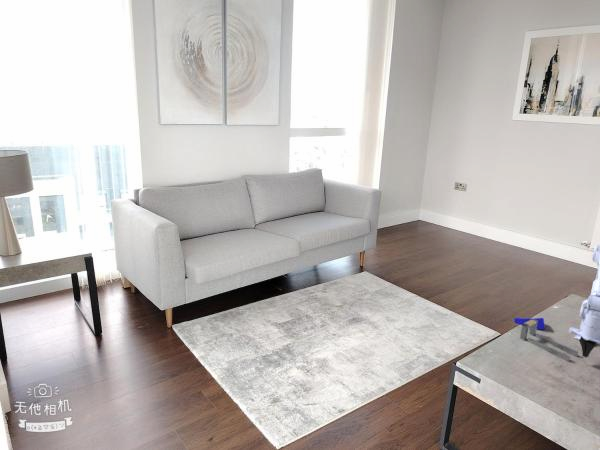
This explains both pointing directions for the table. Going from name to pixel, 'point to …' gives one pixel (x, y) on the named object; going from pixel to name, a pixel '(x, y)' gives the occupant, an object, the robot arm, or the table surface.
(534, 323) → the bracket
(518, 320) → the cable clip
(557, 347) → the guide channel
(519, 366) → the table surface
